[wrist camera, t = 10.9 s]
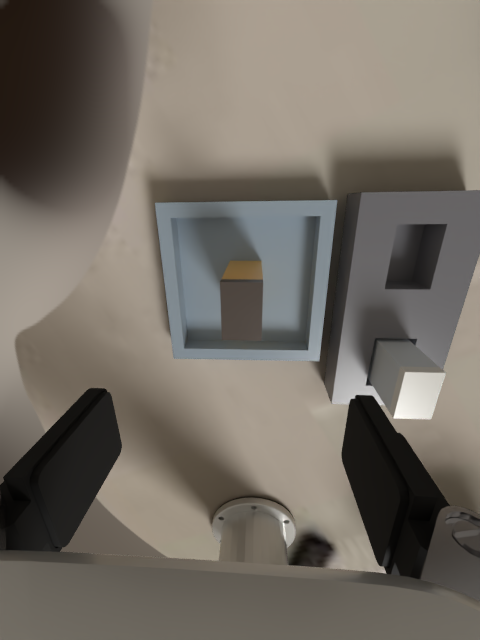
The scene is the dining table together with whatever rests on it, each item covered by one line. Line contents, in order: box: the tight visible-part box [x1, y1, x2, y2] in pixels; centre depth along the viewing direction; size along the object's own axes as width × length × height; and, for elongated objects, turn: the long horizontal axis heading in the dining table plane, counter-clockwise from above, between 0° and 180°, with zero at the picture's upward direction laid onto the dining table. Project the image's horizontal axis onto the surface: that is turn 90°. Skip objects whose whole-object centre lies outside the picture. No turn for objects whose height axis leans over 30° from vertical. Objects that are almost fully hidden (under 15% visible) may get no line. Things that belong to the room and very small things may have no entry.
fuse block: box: [324, 190, 480, 405], centre depth 26 cm, size 20×10×4 cm, turn 1°
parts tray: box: [155, 200, 337, 361], centre depth 27 cm, size 15×15×2 cm
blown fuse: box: [220, 261, 263, 341], centre depth 24 cm, size 4×3×8 cm, turn 0°
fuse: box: [367, 338, 446, 419], centre depth 26 cm, size 4×3×8 cm, turn 1°
